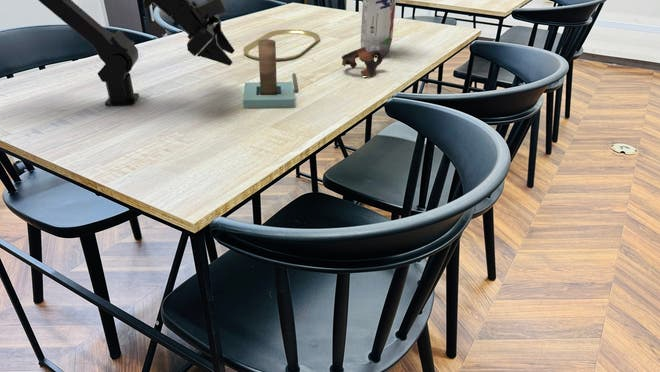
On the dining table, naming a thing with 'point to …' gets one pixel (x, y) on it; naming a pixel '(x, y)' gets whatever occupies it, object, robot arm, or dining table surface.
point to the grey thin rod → (295, 82)
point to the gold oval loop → (279, 32)
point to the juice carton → (377, 25)
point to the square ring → (268, 96)
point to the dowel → (267, 67)
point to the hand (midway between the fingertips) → (232, 57)
